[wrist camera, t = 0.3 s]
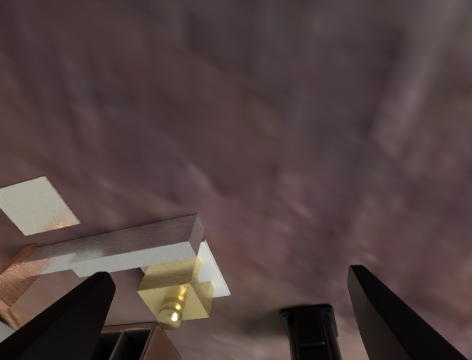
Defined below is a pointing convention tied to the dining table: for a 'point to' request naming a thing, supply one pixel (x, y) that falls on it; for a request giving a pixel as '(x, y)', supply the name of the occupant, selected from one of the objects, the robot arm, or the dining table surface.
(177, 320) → the clip saddle
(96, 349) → the letter holder
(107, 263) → the flange rail
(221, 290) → the pad
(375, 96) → the dining table surface
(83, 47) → the dining table surface
